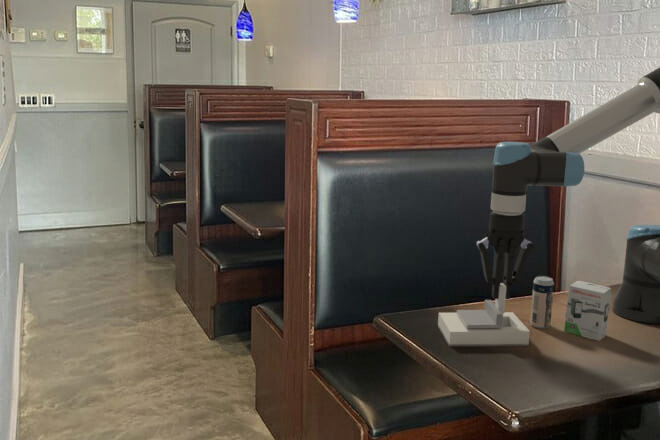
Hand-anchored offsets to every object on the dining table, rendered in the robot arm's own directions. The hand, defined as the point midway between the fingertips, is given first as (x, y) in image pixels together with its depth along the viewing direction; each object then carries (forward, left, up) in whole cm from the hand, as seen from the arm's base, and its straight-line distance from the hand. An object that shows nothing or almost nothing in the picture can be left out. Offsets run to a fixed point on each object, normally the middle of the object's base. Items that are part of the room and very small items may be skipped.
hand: (499, 311), depth 159 cm
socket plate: (+4, 0, -6) cm, 7 cm away
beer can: (-12, -6, -6) cm, 15 cm away
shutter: (+5, 0, -2) cm, 5 cm away
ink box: (-21, -1, -6) cm, 22 cm away
